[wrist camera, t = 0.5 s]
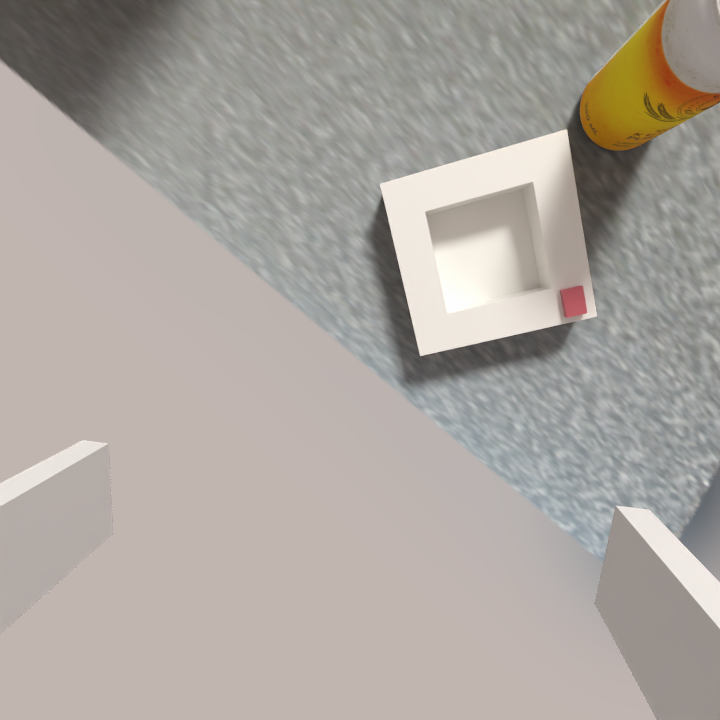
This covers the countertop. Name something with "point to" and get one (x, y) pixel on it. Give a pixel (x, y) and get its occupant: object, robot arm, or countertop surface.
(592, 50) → the countertop surface
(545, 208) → the socket block
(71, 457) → the robot arm
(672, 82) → the beer can
